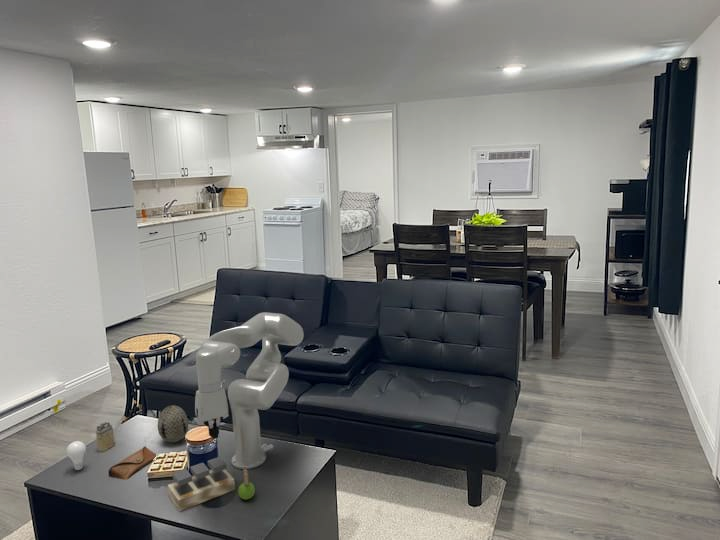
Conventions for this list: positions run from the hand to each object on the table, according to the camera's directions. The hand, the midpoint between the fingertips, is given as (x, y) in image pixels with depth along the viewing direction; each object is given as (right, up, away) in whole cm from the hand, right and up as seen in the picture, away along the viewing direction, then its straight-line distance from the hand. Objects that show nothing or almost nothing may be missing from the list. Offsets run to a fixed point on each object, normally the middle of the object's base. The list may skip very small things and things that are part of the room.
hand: (214, 436), depth 188 cm
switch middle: (-4, -13, -1) cm, 14 cm away
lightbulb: (-54, -17, +17) cm, 59 cm away
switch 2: (0, -13, +3) cm, 13 cm away
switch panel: (-4, -19, 0) cm, 19 cm away
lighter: (-51, -14, +33) cm, 62 cm away
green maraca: (+12, -20, -4) cm, 23 cm away
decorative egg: (-25, -13, +36) cm, 46 cm away
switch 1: (-9, -14, -4) cm, 17 cm away
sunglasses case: (-34, -17, +19) cm, 42 cm away
